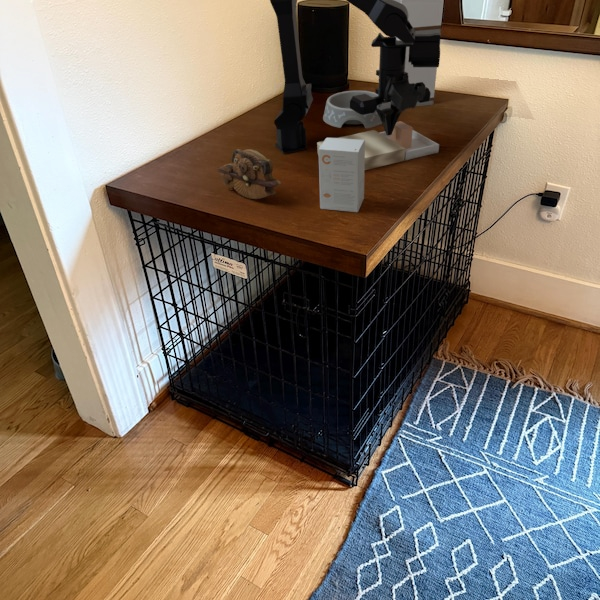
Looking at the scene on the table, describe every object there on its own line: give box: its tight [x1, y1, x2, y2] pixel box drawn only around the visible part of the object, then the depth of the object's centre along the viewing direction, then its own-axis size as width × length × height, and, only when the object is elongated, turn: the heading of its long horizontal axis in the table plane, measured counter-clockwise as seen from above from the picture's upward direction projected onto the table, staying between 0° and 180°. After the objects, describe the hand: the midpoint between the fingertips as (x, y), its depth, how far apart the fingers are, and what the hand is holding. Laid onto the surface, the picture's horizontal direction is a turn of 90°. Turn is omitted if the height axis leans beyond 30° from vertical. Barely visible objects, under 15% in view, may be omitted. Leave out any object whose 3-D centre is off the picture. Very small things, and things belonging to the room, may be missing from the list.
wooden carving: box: [217, 148, 282, 200], centre depth 119 cm, size 16×5×10 cm, turn 55°
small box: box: [318, 137, 365, 213], centre depth 113 cm, size 8×6×13 cm
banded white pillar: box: [394, 0, 444, 107], centre depth 156 cm, size 11×11×35 cm
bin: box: [379, 129, 440, 161], centre depth 139 cm, size 9×14×2 cm
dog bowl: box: [322, 90, 382, 129], centre depth 156 cm, size 17×18×5 cm
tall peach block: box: [390, 121, 414, 149], centre depth 137 cm, size 5×5×3 cm
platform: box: [316, 129, 405, 171], centre depth 134 cm, size 16×14×3 cm
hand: (388, 134), depth 135 cm, fingers closed
